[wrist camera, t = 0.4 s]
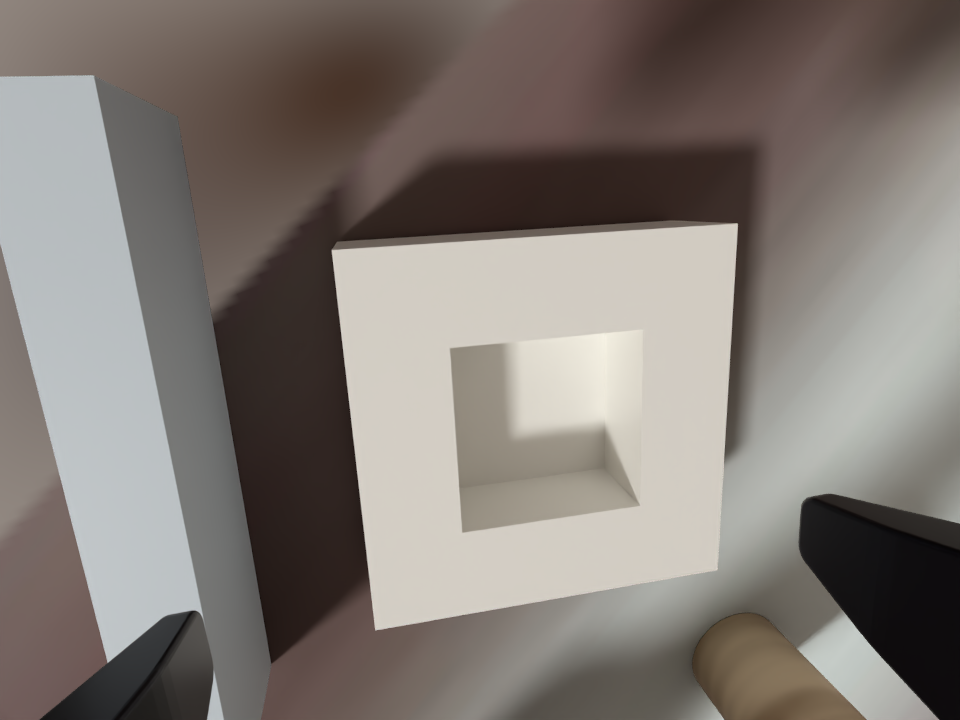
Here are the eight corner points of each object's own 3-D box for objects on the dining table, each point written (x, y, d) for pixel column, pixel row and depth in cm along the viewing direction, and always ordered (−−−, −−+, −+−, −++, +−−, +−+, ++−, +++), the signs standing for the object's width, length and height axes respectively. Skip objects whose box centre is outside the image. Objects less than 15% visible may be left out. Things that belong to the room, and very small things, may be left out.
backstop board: (271, 664, 23) (242, 813, 18) (203, 676, 23) (151, 834, 17) (177, 116, 18) (93, 75, 12) (87, 119, 18) (-43, 77, 12)
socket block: (662, 514, 25) (717, 570, 21) (372, 559, 23) (375, 630, 19) (671, 220, 22) (738, 223, 18) (337, 241, 20) (331, 250, 16)
